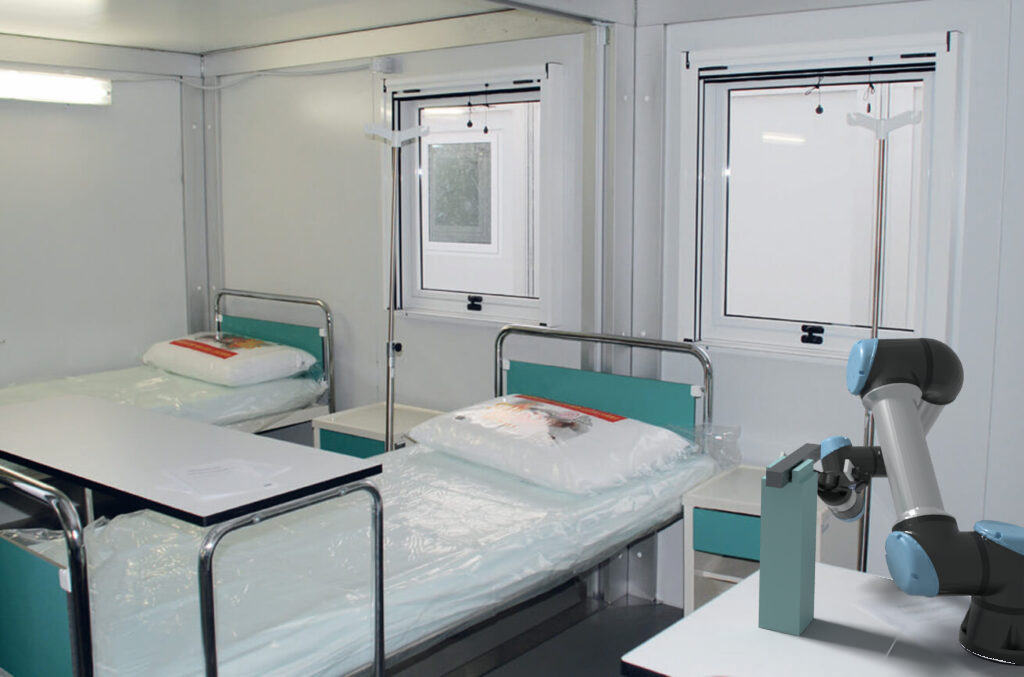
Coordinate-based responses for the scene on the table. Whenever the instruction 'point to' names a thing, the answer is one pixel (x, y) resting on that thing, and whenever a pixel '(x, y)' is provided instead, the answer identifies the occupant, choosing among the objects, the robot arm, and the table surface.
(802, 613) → the notched post
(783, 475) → the steel bar
